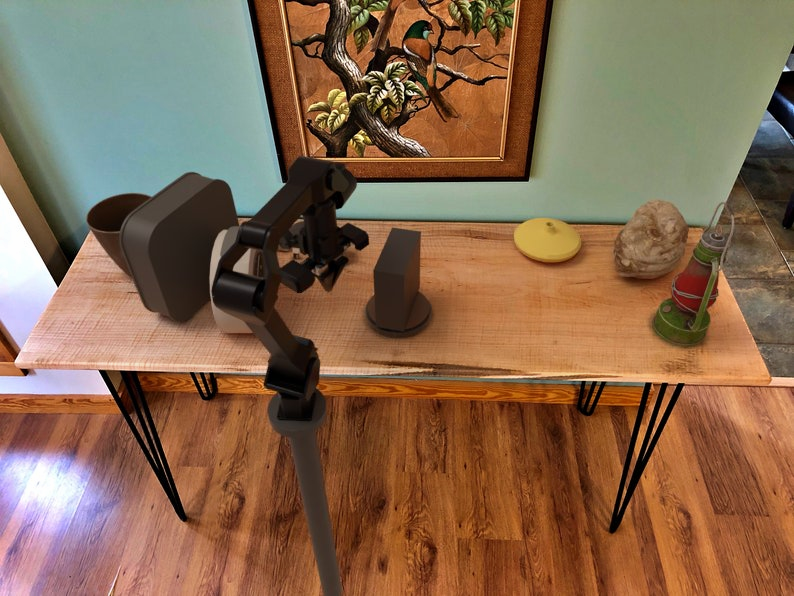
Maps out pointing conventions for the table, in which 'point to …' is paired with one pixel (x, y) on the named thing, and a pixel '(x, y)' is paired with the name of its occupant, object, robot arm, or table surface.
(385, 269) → the dark upright block
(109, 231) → the flower pot
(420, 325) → the turntable base
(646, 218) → the rock
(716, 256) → the lantern
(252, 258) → the alarm clock
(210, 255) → the speaker
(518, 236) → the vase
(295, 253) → the cuneiform tablet
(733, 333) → the table surface
